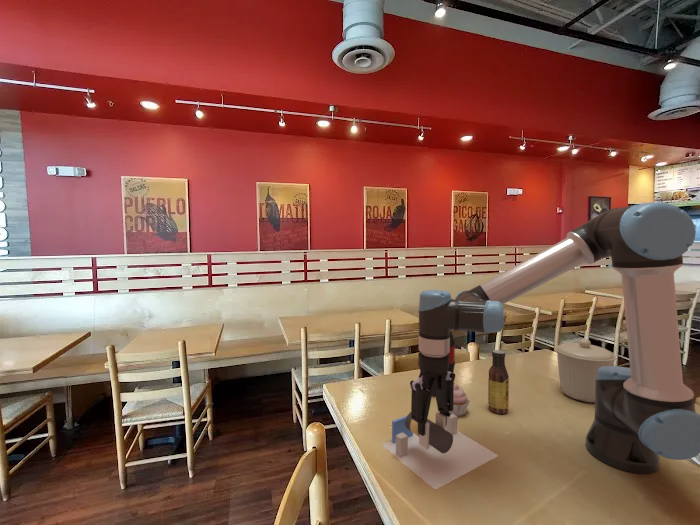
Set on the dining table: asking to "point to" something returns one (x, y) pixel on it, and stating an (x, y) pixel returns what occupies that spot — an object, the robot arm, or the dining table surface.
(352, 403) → the dining table surface
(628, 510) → the dining table surface
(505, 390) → the sauce bottle
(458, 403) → the cupcake
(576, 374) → the canister
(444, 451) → the banded cylinder post
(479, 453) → the white base plate
